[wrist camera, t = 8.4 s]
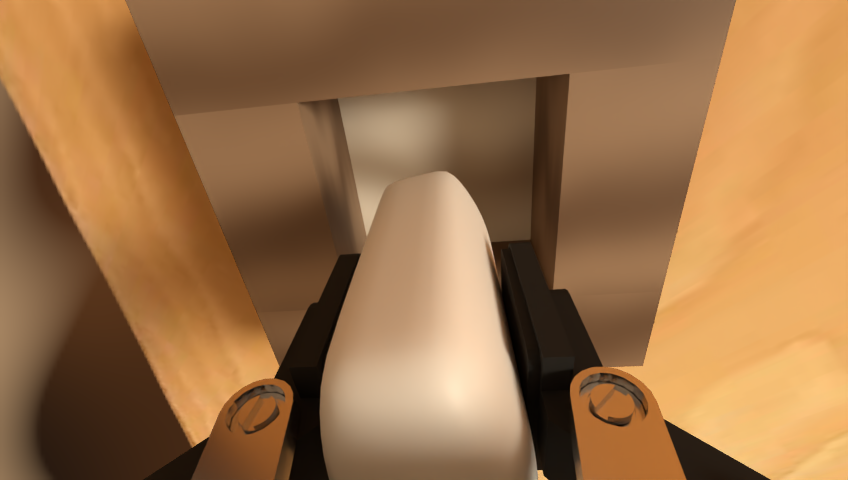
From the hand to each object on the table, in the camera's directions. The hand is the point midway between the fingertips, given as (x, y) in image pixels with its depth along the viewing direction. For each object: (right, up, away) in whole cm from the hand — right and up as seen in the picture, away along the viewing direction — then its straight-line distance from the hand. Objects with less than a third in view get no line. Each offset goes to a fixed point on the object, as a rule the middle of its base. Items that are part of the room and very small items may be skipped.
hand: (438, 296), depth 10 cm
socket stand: (+1, +6, +9) cm, 11 cm away
